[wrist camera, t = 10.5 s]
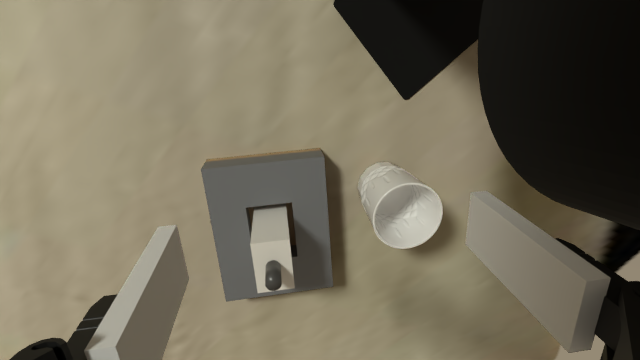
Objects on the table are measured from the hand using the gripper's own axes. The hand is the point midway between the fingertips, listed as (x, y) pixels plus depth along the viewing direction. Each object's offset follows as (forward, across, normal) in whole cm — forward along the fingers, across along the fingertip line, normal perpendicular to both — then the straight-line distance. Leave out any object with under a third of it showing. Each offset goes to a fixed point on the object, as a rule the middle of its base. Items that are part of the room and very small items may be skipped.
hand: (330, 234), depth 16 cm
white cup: (+30, +11, -11) cm, 34 cm away
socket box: (+30, -4, -14) cm, 33 cm away
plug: (+29, -4, -14) cm, 32 cm away
